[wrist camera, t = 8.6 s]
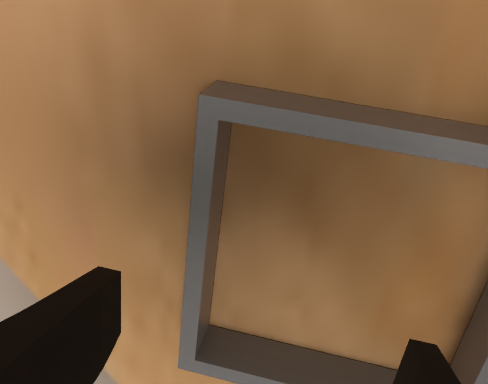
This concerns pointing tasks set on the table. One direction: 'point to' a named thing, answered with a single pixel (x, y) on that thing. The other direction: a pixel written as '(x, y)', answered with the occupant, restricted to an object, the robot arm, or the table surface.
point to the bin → (209, 216)
